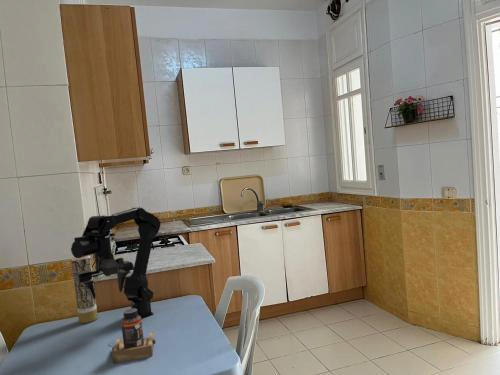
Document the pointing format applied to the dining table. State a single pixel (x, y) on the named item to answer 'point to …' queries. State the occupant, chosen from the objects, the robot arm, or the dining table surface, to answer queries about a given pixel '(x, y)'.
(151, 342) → the holder
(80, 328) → the dining table surface
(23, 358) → the dining table surface
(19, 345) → the dining table surface
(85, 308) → the paper tube
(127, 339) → the supplement bottle
